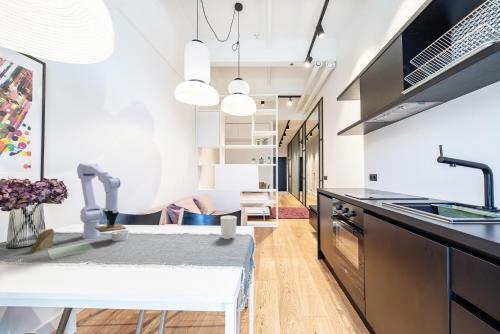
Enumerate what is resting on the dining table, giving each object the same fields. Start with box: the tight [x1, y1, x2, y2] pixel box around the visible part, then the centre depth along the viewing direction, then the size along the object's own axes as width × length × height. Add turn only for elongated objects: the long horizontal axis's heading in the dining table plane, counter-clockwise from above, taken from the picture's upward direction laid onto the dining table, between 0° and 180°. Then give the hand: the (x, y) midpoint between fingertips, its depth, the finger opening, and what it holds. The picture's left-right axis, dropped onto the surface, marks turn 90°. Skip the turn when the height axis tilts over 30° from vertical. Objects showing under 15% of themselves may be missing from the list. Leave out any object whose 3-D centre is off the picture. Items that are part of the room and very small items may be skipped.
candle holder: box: [220, 215, 238, 240], centre depth 129 cm, size 10×10×12 cm
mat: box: [47, 241, 95, 260], centre depth 106 cm, size 16×16×1 cm
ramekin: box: [110, 229, 130, 242], centre depth 123 cm, size 9×9×4 cm
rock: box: [29, 228, 55, 254], centre depth 106 cm, size 11×9×10 cm
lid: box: [95, 219, 127, 233], centre depth 119 cm, size 12×12×5 cm
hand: (111, 224), depth 120 cm, fingers closed on lid, 3 cm apart
